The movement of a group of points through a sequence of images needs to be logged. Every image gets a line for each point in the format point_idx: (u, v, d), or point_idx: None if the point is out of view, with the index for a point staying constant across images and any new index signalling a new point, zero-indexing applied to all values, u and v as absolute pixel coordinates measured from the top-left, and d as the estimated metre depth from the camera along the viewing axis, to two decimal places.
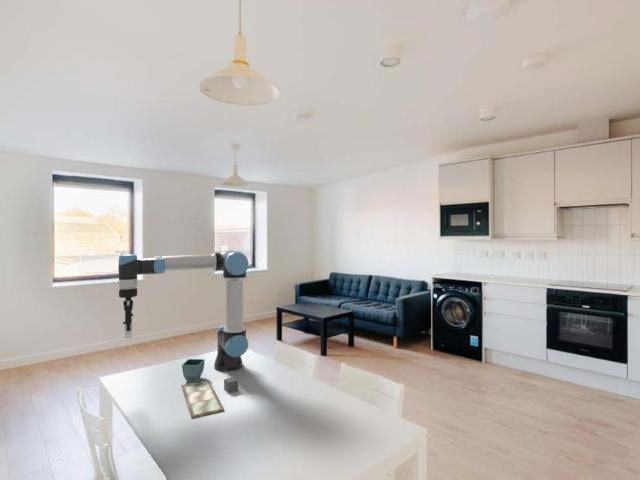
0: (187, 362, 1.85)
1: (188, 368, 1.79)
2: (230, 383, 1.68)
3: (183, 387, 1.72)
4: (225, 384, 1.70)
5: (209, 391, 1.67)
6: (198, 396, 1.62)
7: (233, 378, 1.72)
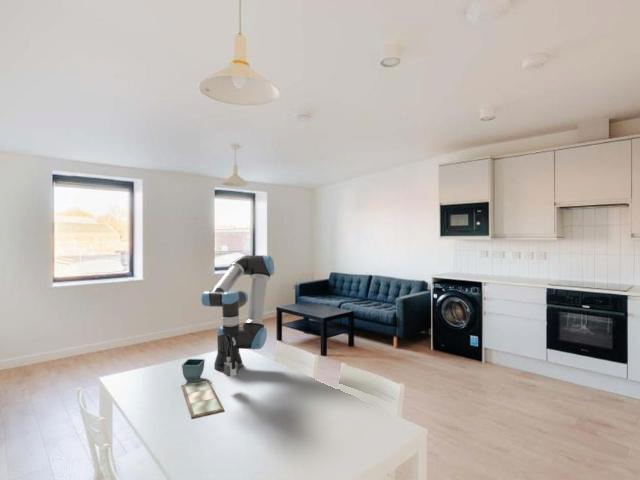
0: (187, 362, 1.85)
1: (188, 368, 1.79)
2: None
3: (183, 387, 1.72)
4: (225, 367, 1.70)
5: (209, 391, 1.67)
6: (198, 396, 1.62)
7: None
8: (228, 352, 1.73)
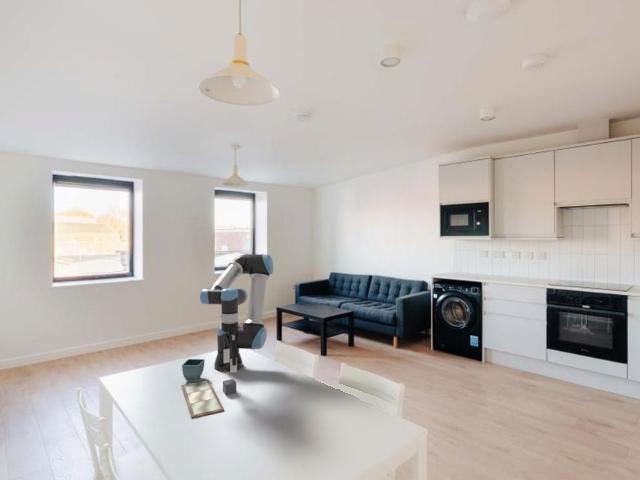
0: (187, 362, 1.85)
1: (188, 368, 1.79)
2: (227, 385, 1.66)
3: (183, 387, 1.72)
4: (223, 386, 1.68)
5: (209, 391, 1.67)
6: (198, 396, 1.62)
7: (232, 380, 1.70)
8: (225, 346, 1.73)
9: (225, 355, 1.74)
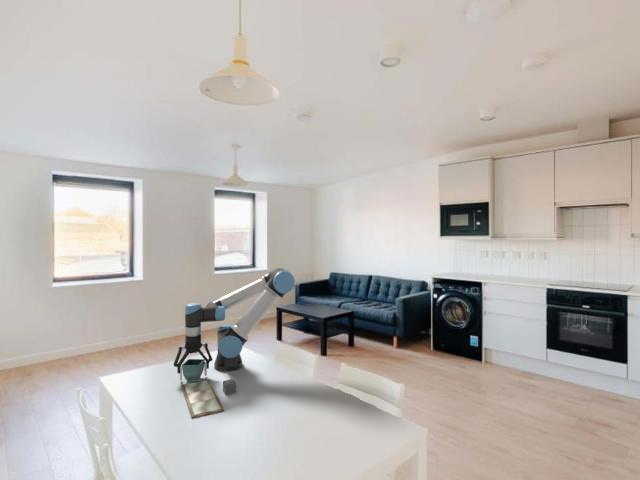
0: (187, 362, 1.85)
1: (188, 368, 1.79)
2: (227, 385, 1.66)
3: (183, 387, 1.72)
4: (223, 386, 1.68)
5: (209, 391, 1.67)
6: (198, 396, 1.62)
7: (232, 380, 1.70)
8: None
9: (204, 367, 1.86)
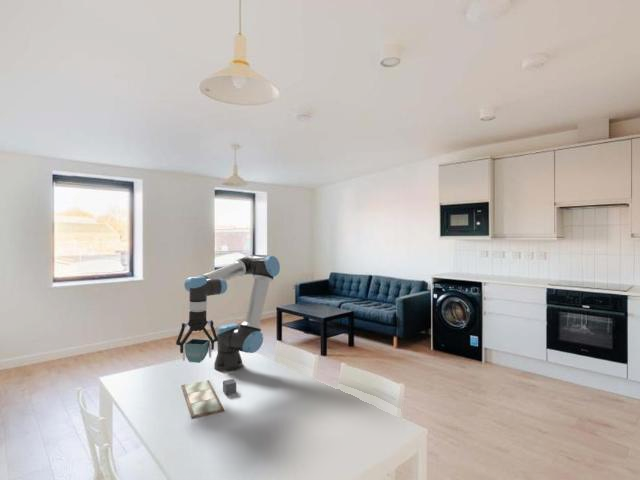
0: (191, 342, 1.68)
1: (192, 347, 1.62)
2: (227, 385, 1.66)
3: (183, 387, 1.72)
4: (223, 386, 1.68)
5: (209, 391, 1.67)
6: (198, 396, 1.62)
7: (232, 380, 1.70)
8: None
9: (209, 348, 1.68)
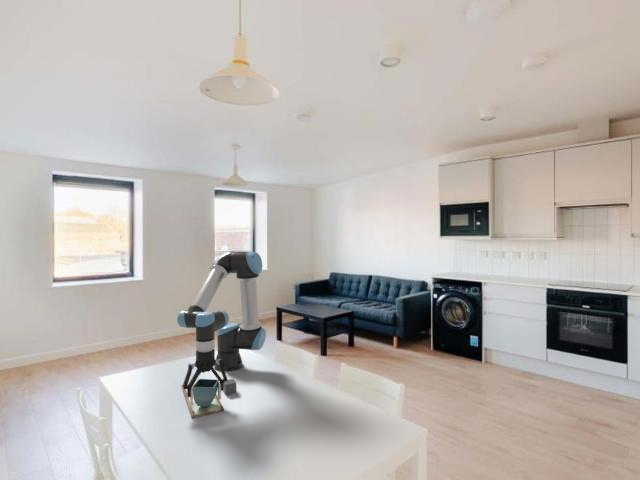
0: (198, 383, 1.55)
1: (200, 391, 1.49)
2: (227, 385, 1.66)
3: None
4: (223, 386, 1.68)
5: None
6: None
7: (232, 380, 1.70)
8: None
9: (218, 389, 1.56)
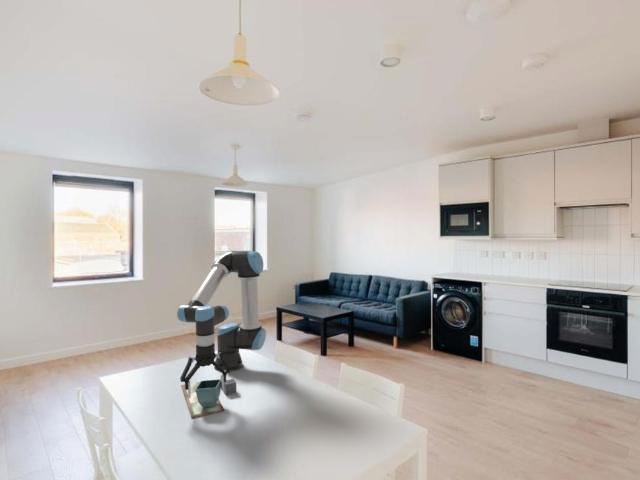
0: (200, 385, 1.56)
1: (204, 392, 1.50)
2: (227, 385, 1.66)
3: (183, 387, 1.72)
4: None
5: None
6: None
7: (232, 380, 1.70)
8: None
9: (221, 380, 1.57)
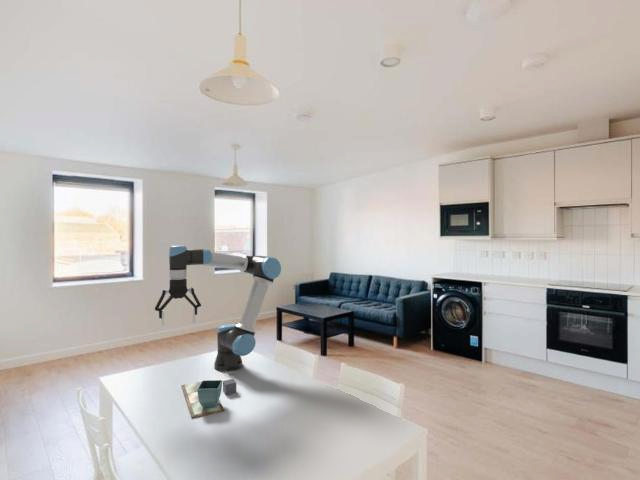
0: (202, 384, 1.56)
1: (205, 393, 1.50)
2: (227, 385, 1.66)
3: (183, 387, 1.72)
4: (223, 386, 1.68)
5: None
6: None
7: (232, 380, 1.70)
8: None
9: (192, 313, 1.74)
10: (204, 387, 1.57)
